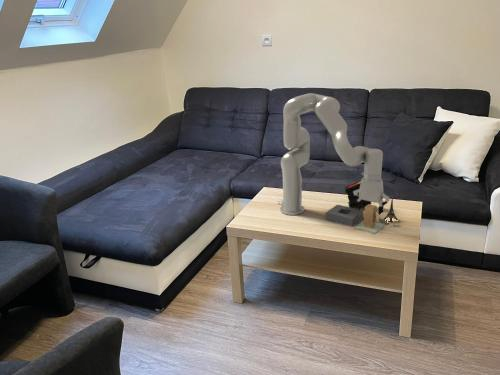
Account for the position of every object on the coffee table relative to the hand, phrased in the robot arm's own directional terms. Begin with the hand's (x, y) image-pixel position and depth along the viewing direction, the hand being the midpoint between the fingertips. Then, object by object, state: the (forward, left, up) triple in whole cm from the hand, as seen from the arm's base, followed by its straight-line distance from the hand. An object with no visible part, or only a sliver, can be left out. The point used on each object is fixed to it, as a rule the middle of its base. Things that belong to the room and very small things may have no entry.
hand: (370, 211), depth 199 cm
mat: (0, 0, -8) cm, 8 cm away
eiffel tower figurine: (+5, +13, -9) cm, 16 cm away
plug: (0, 0, -8) cm, 8 cm away
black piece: (-15, +19, -8) cm, 25 cm away
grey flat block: (-14, +2, -8) cm, 16 cm away
